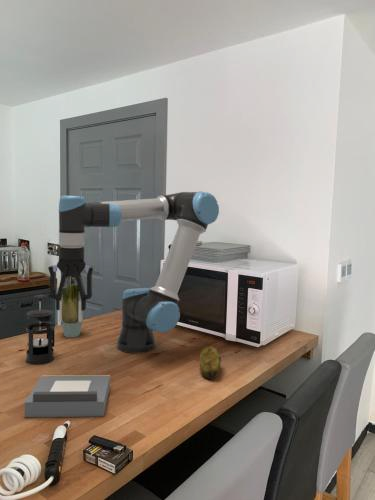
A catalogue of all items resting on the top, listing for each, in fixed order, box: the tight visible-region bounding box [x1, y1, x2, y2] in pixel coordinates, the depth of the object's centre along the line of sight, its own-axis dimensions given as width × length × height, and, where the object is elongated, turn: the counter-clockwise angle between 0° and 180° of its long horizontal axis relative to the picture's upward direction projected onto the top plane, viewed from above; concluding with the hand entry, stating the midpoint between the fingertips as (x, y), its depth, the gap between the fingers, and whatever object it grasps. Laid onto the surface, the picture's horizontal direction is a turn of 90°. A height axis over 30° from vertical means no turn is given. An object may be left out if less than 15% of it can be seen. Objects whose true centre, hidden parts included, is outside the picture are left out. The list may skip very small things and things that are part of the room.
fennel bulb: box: [62, 284, 80, 324], centre depth 124 cm, size 6×5×12 cm
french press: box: [25, 294, 56, 366], centre depth 139 cm, size 12×9×23 cm
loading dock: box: [24, 374, 111, 418], centre depth 111 cm, size 20×17×6 cm
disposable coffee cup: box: [61, 311, 85, 338], centre depth 166 cm, size 11×11×15 cm
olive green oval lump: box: [198, 345, 222, 380], centre depth 133 cm, size 8×13×8 cm, turn 162°
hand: (71, 320), depth 124 cm, fingers closed on fennel bulb, 5 cm apart
